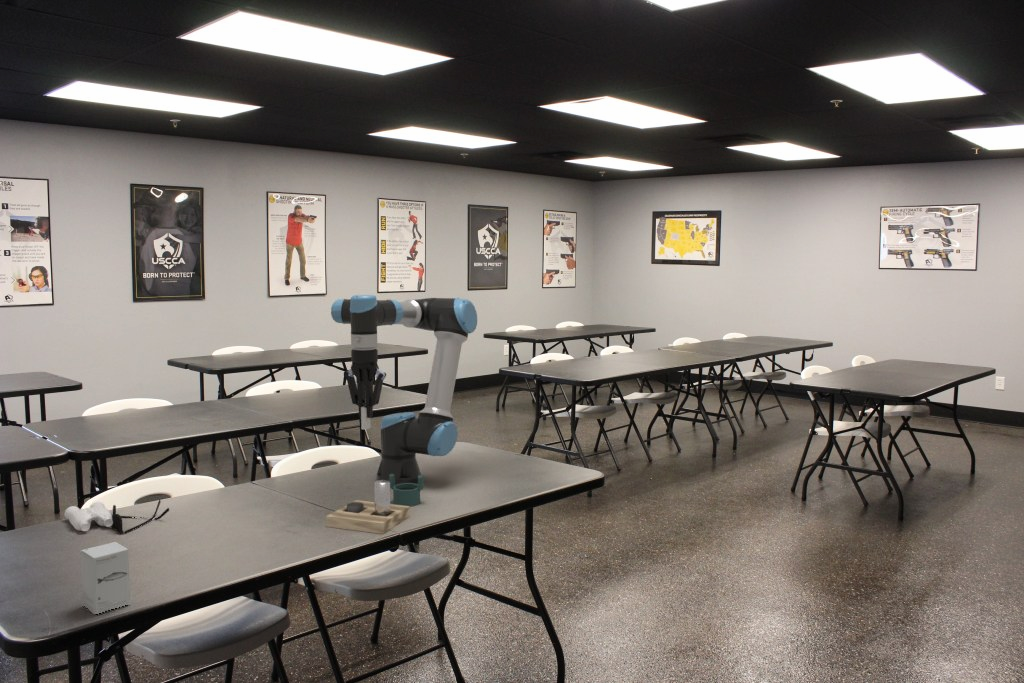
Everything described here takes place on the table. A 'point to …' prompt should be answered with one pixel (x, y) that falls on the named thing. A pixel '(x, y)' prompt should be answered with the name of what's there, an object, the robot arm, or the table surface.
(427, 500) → the table surface
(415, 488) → the bracket
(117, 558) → the supplement box
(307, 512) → the table surface
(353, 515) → the jig
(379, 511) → the metal cylinder
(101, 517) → the binoculars
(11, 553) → the table surface
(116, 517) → the sunglasses
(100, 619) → the table surface
